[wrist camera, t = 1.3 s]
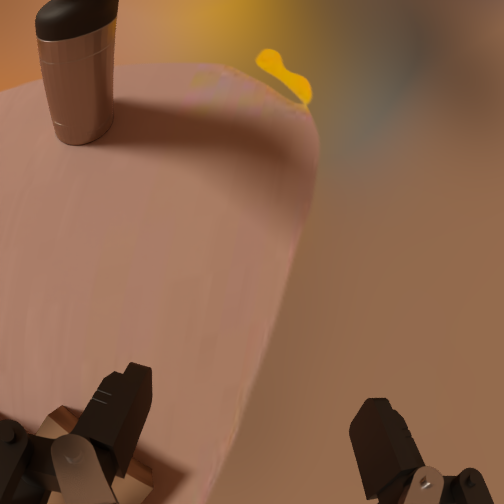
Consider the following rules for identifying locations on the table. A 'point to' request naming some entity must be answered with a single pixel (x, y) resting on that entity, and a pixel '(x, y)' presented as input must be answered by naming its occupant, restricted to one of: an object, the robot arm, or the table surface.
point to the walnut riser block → (126, 489)
